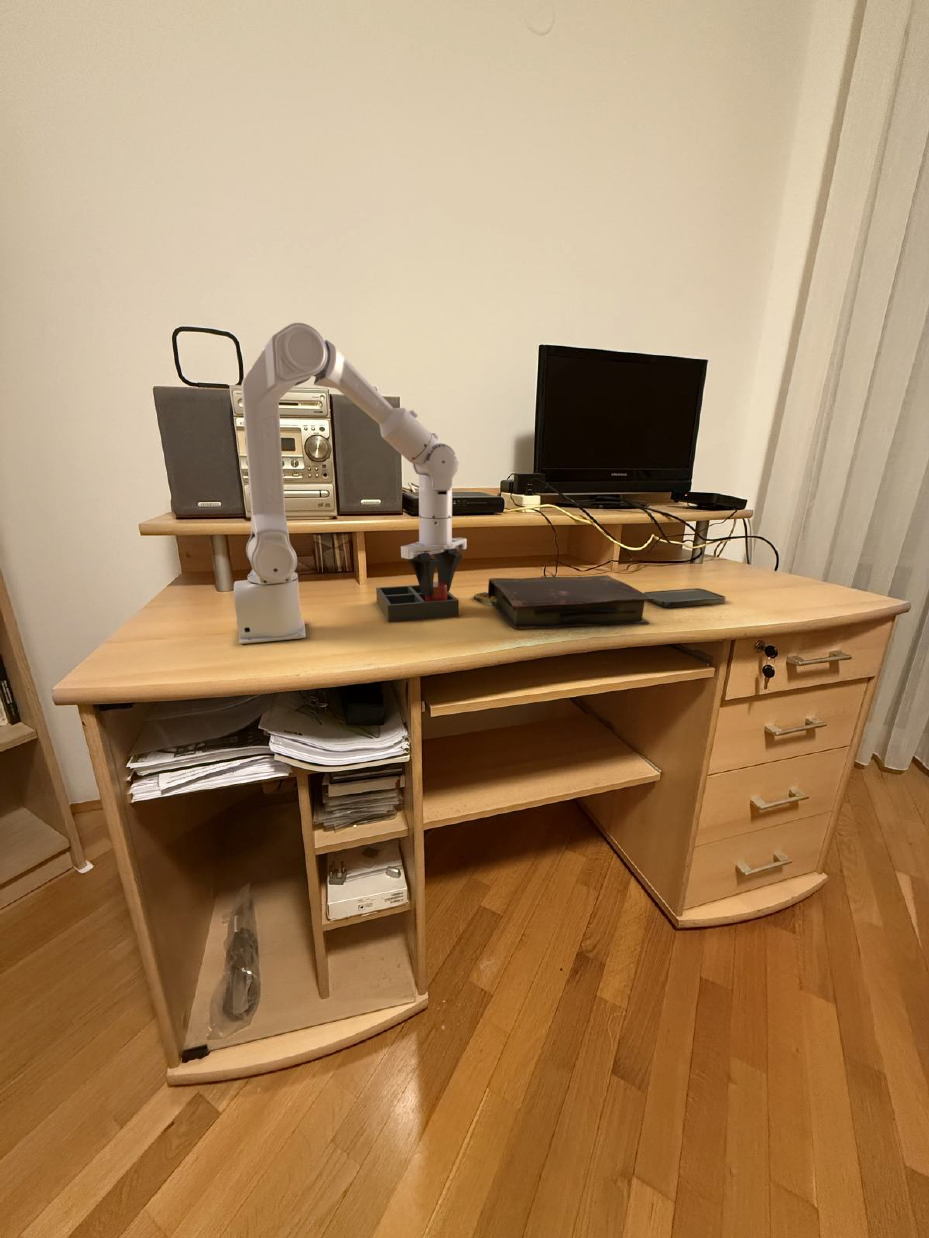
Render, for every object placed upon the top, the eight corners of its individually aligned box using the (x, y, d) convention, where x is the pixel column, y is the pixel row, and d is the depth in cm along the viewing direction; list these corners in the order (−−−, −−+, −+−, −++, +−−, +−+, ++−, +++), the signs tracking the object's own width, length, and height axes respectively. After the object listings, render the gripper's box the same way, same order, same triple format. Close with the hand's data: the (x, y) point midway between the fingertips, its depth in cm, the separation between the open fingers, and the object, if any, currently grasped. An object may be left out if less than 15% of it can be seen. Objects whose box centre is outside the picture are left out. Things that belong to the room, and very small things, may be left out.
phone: (641, 592, 101) (700, 587, 106) (640, 597, 102) (699, 592, 106) (666, 602, 94) (728, 597, 98) (665, 608, 95) (727, 602, 99)
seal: (471, 613, 95) (549, 615, 93) (470, 590, 93) (550, 591, 91) (475, 595, 103) (547, 597, 102) (475, 574, 101) (548, 575, 100)
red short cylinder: (428, 604, 87) (428, 587, 86) (422, 598, 90) (422, 582, 89) (449, 602, 88) (449, 586, 87) (443, 596, 92) (443, 581, 91)
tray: (388, 622, 84) (387, 605, 83) (376, 602, 95) (376, 587, 95) (458, 616, 88) (458, 600, 87) (439, 597, 99) (439, 583, 98)
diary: (487, 600, 98) (488, 575, 96) (603, 596, 102) (606, 572, 101) (513, 633, 80) (515, 604, 79) (651, 627, 85) (656, 599, 83)
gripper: (421, 522, 77) (422, 605, 81) (480, 516, 87) (478, 589, 91) (391, 518, 81) (393, 597, 86) (451, 512, 92) (450, 583, 96)
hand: (435, 592), depth 89 cm, fingers closed on red short cylinder, 4 cm apart
